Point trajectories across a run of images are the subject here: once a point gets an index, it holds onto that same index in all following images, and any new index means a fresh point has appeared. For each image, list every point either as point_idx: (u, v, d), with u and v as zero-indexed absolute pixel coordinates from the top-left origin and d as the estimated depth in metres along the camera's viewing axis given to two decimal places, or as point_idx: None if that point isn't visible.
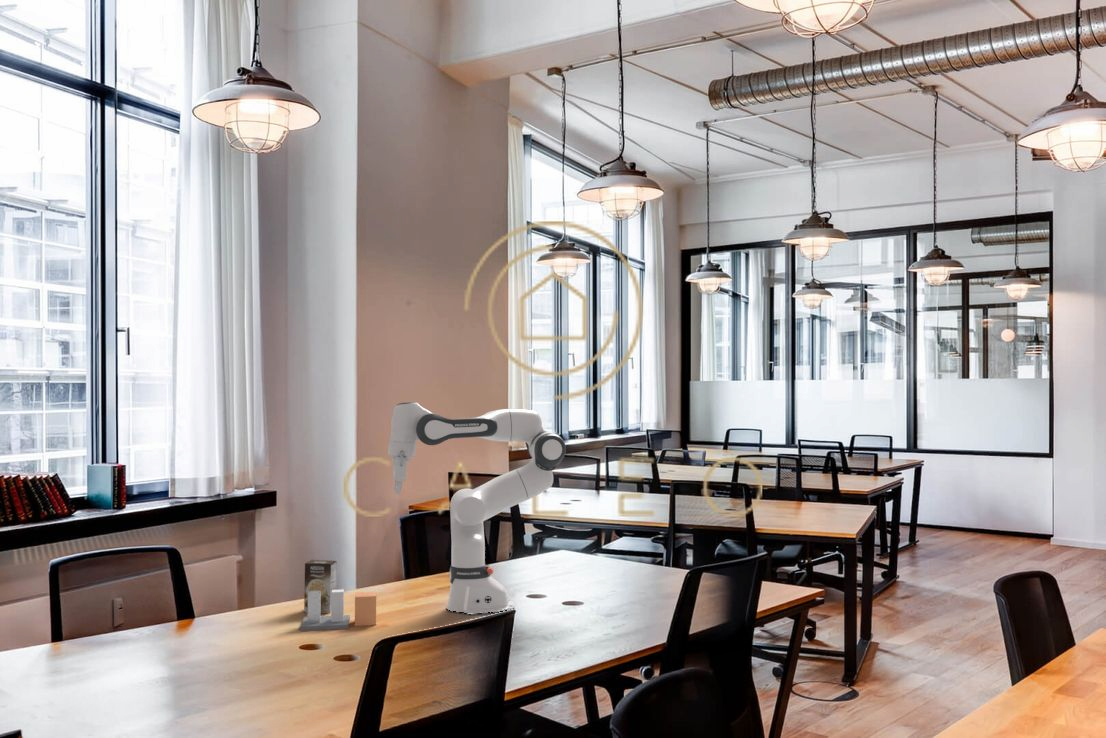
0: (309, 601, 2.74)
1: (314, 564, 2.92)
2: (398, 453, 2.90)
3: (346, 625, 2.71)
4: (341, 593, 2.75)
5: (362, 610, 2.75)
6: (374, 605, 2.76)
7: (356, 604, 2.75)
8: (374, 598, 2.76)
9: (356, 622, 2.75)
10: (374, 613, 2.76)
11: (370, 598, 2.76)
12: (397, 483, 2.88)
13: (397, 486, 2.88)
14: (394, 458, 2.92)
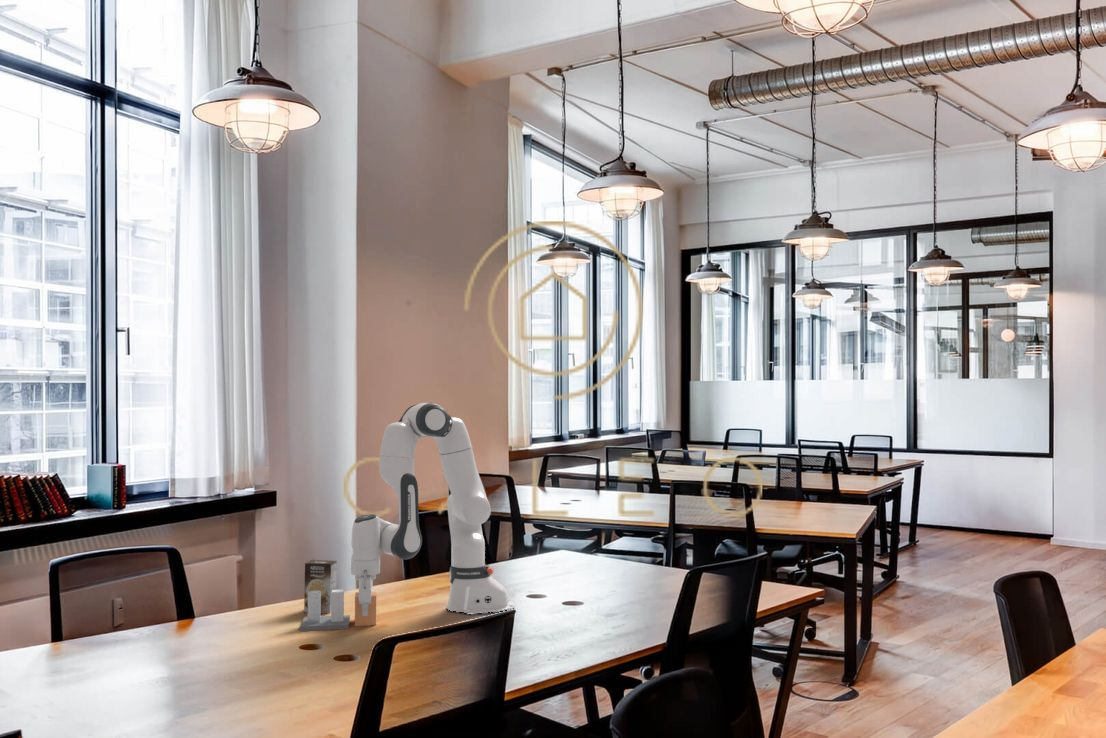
0: (309, 601, 2.74)
1: (314, 564, 2.92)
2: (361, 573, 2.74)
3: (346, 625, 2.71)
4: (341, 593, 2.75)
5: None
6: (374, 605, 2.76)
7: (356, 604, 2.75)
8: (374, 598, 2.76)
9: (356, 622, 2.75)
10: (374, 613, 2.76)
11: None
12: (363, 605, 2.73)
13: (363, 608, 2.73)
14: (358, 578, 2.76)
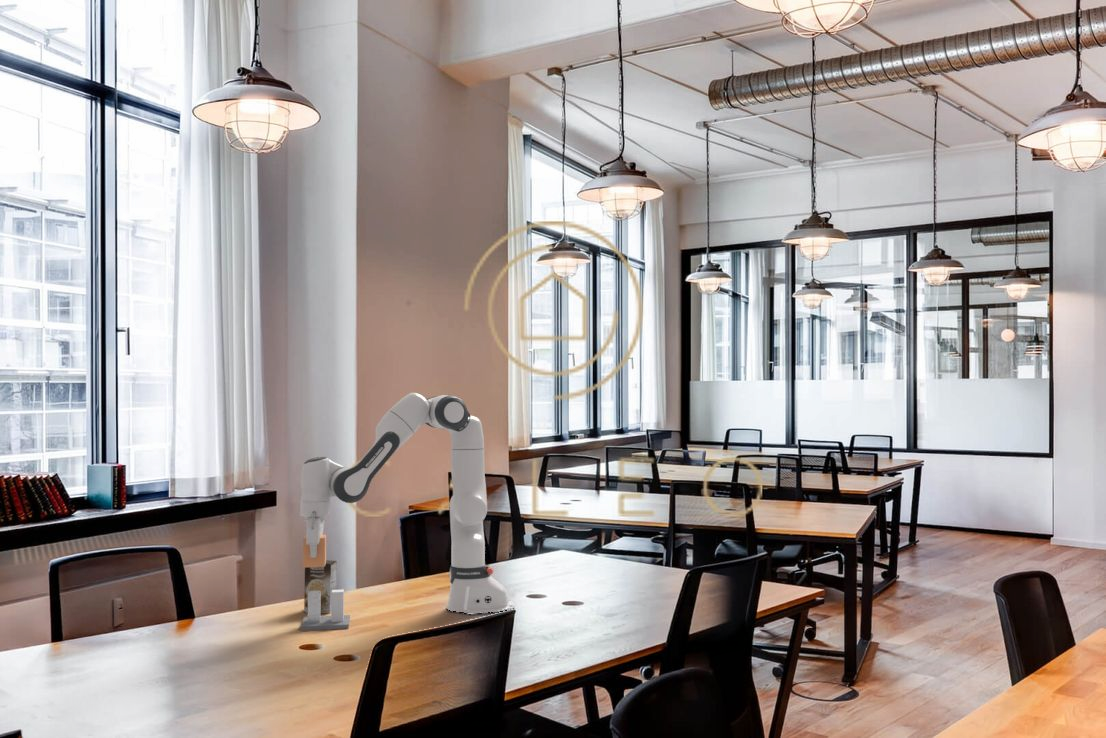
0: (309, 601, 2.74)
1: None
2: (310, 514, 2.72)
3: (346, 625, 2.71)
4: (341, 593, 2.75)
5: None
6: (323, 547, 2.73)
7: (304, 546, 2.72)
8: (323, 540, 2.73)
9: (304, 564, 2.72)
10: (323, 555, 2.73)
11: None
12: (311, 546, 2.70)
13: (312, 549, 2.71)
14: (307, 519, 2.74)
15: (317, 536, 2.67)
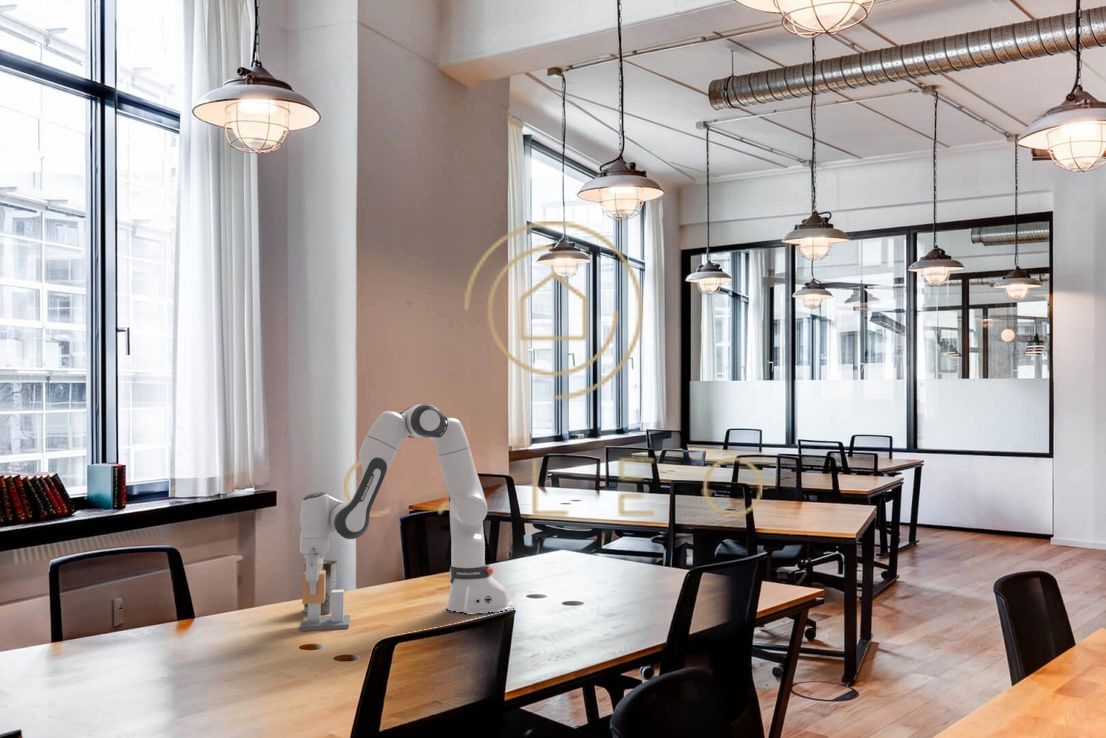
0: None
1: None
2: (309, 551, 2.72)
3: (346, 625, 2.71)
4: (341, 593, 2.75)
5: None
6: (322, 583, 2.73)
7: (304, 582, 2.72)
8: (322, 576, 2.73)
9: (304, 600, 2.72)
10: (322, 591, 2.73)
11: None
12: (311, 583, 2.70)
13: (311, 586, 2.71)
14: (306, 556, 2.73)
15: (316, 573, 2.66)
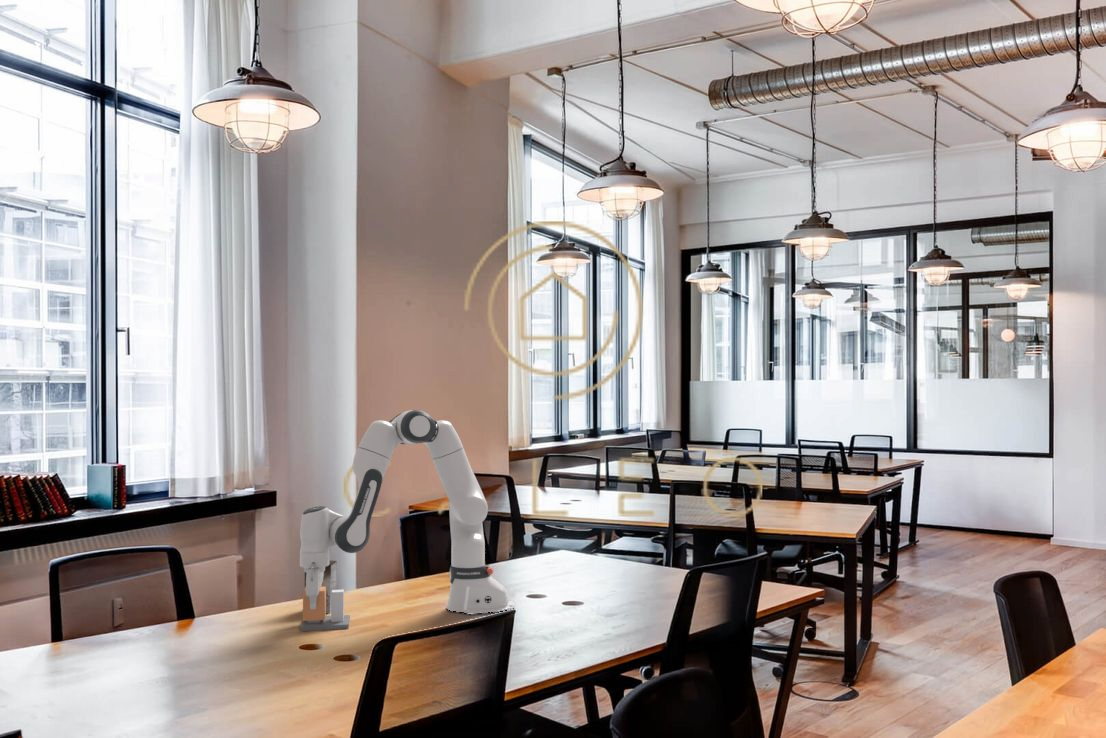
0: None
1: None
2: (309, 565, 2.72)
3: (346, 625, 2.71)
4: (341, 593, 2.75)
5: None
6: (322, 600, 2.73)
7: (304, 599, 2.72)
8: (322, 593, 2.73)
9: (304, 617, 2.72)
10: (322, 608, 2.73)
11: None
12: (311, 598, 2.69)
13: (311, 601, 2.70)
14: (306, 570, 2.73)
15: (317, 588, 2.66)
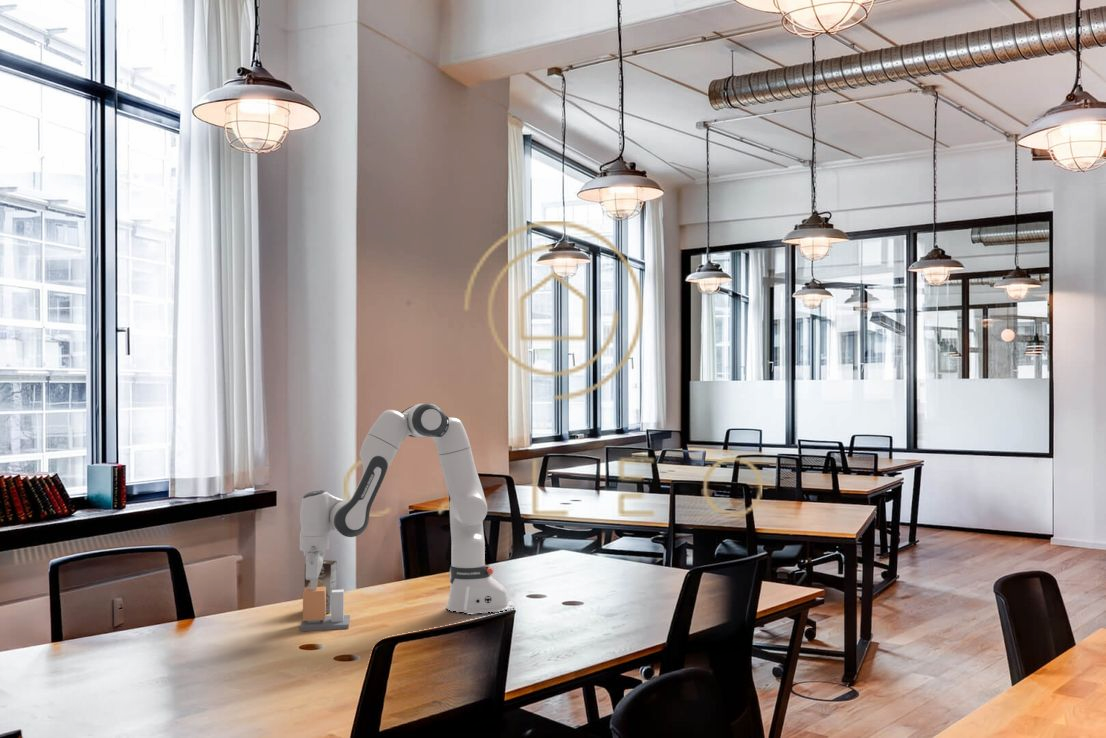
0: None
1: None
2: (309, 549, 2.72)
3: (346, 625, 2.71)
4: (341, 593, 2.75)
5: (310, 605, 2.72)
6: (322, 600, 2.73)
7: (304, 599, 2.72)
8: (322, 593, 2.73)
9: (304, 617, 2.72)
10: (322, 608, 2.73)
11: (318, 593, 2.73)
12: None
13: (312, 582, 2.74)
14: (306, 554, 2.73)
15: (316, 571, 2.66)
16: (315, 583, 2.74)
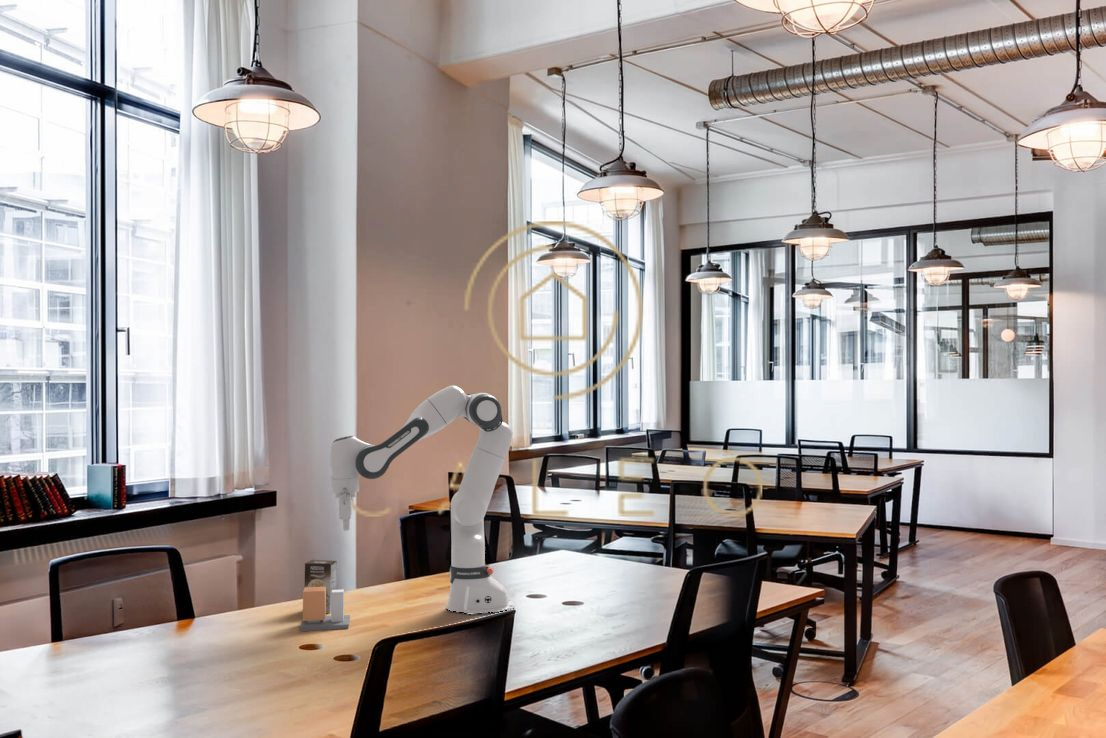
0: None
1: (314, 564, 2.92)
2: (341, 490, 2.84)
3: (346, 625, 2.71)
4: (341, 593, 2.75)
5: (310, 605, 2.72)
6: (322, 600, 2.73)
7: (304, 599, 2.72)
8: (322, 593, 2.73)
9: (304, 617, 2.72)
10: (322, 608, 2.73)
11: (318, 593, 2.73)
12: (344, 519, 2.86)
13: (344, 522, 2.86)
14: (338, 496, 2.86)
15: (349, 511, 2.79)
16: (347, 524, 2.87)
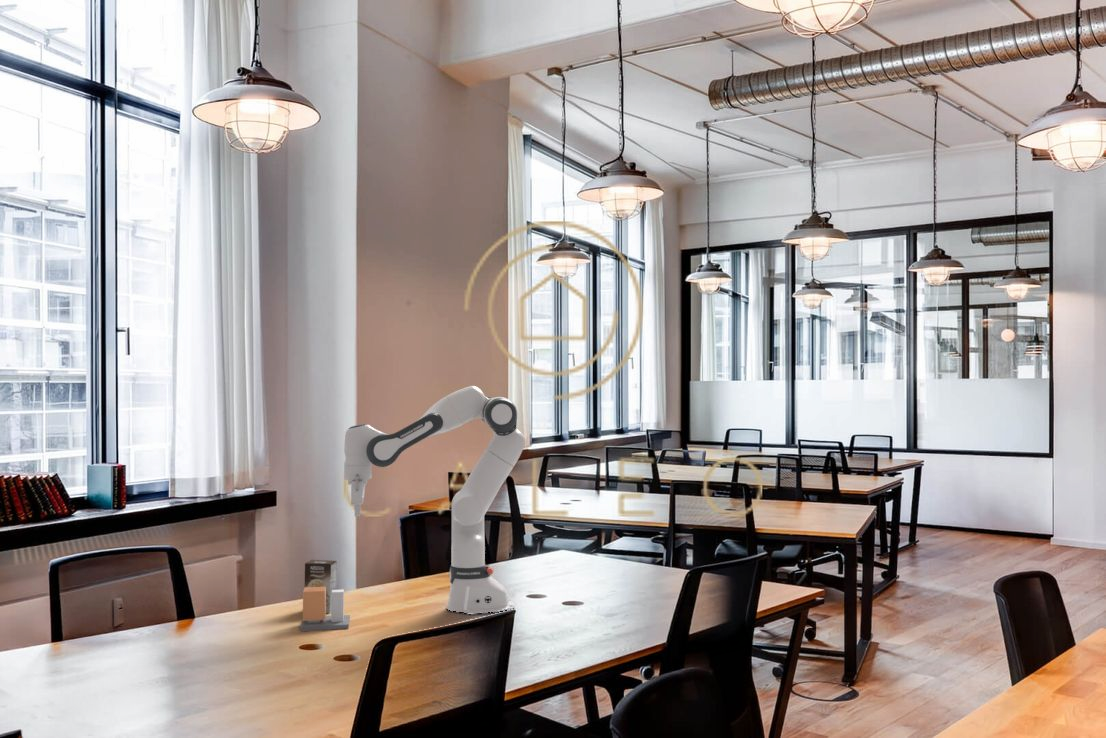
0: None
1: (314, 564, 2.92)
2: (354, 477, 2.89)
3: (346, 625, 2.71)
4: (341, 593, 2.75)
5: (310, 605, 2.72)
6: (322, 600, 2.73)
7: (304, 599, 2.72)
8: (322, 593, 2.73)
9: (304, 617, 2.72)
10: (322, 608, 2.73)
11: (318, 593, 2.73)
12: (356, 506, 2.91)
13: (356, 509, 2.91)
14: (350, 482, 2.91)
15: (361, 497, 2.84)
16: (359, 510, 2.92)
